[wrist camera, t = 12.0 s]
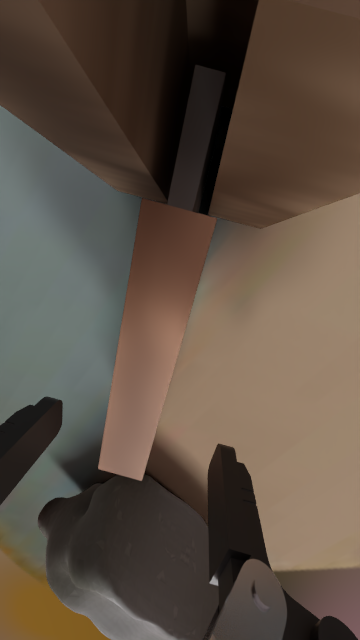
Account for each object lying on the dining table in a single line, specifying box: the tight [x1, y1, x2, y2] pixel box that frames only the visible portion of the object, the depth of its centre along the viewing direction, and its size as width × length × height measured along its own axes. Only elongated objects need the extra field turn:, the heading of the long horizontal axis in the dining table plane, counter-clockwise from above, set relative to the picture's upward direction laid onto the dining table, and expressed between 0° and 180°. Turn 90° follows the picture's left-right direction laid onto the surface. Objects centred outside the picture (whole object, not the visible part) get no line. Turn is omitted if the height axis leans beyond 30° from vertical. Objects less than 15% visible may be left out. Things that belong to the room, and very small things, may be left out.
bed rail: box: [98, 65, 226, 481], centre depth 12 cm, size 3×20×5 cm, turn 166°
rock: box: [38, 475, 219, 640], centre depth 19 cm, size 18×11×8 cm, turn 41°
